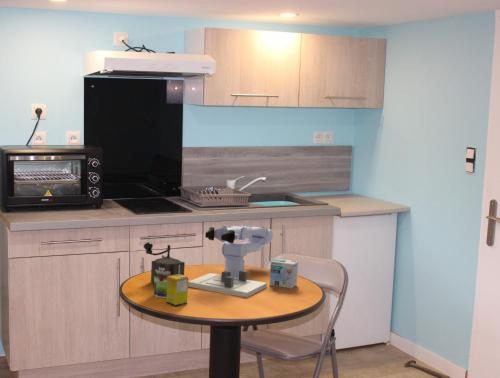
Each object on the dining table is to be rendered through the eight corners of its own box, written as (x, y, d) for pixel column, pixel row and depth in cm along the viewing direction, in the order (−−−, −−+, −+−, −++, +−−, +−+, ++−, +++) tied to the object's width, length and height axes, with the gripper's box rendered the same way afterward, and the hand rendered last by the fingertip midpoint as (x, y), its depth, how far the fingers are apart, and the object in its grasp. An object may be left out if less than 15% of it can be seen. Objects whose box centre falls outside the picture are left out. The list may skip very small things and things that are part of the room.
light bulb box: (268, 285, 312) (270, 260, 311) (274, 281, 318) (275, 258, 317) (292, 288, 308) (293, 264, 307) (297, 285, 314) (298, 261, 313)
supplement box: (178, 300, 281) (179, 273, 279) (187, 304, 276) (188, 276, 275) (165, 303, 277) (166, 275, 275) (175, 307, 272) (176, 279, 271)
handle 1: (226, 285, 299) (227, 275, 298) (233, 286, 298) (233, 277, 297) (224, 286, 297) (224, 277, 296) (230, 287, 295) (231, 278, 295)
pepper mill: (166, 278, 315) (168, 237, 312) (184, 283, 308) (186, 242, 305) (140, 284, 303) (141, 242, 300) (158, 289, 296) (159, 246, 294)
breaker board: (209, 277, 320) (210, 272, 319) (266, 287, 307) (266, 282, 307) (187, 286, 303) (187, 281, 302) (246, 297, 290) (246, 292, 290)
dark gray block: (223, 280, 307) (224, 271, 306) (230, 281, 306) (230, 272, 305) (221, 281, 305) (221, 272, 304) (227, 282, 303) (227, 273, 303)
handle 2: (241, 279, 310) (241, 270, 310) (247, 280, 309) (247, 271, 309) (238, 280, 308) (239, 271, 308) (244, 281, 307) (245, 272, 307)
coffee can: (172, 300, 281) (173, 264, 280) (148, 296, 285) (149, 261, 283) (183, 293, 291) (184, 259, 289) (160, 290, 294) (161, 256, 293)
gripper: (215, 223, 317) (200, 224, 305) (244, 227, 311) (230, 228, 299) (213, 238, 318) (198, 241, 305) (243, 243, 311) (228, 245, 299)
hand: (214, 236), depth 302 cm, fingers open, 7 cm apart
